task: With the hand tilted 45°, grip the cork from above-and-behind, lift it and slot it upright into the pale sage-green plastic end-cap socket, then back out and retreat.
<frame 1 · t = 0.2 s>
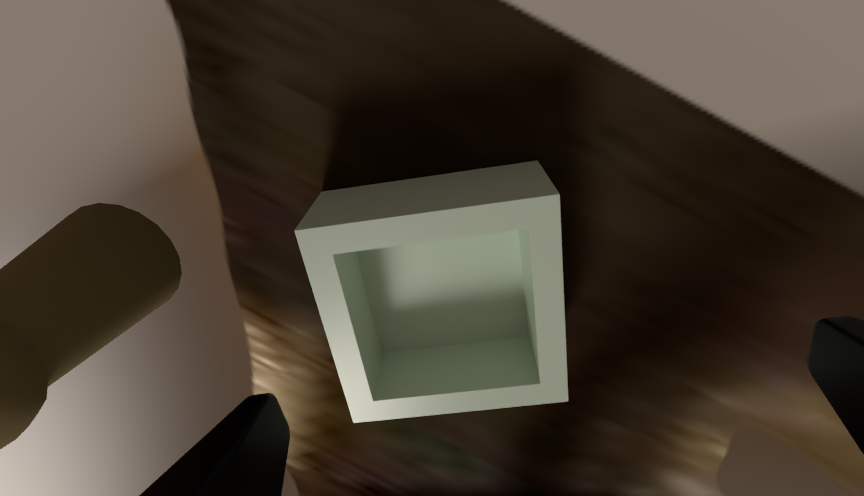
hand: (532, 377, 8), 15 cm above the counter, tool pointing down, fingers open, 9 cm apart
end cap socket: (443, 271, 24), on the counter
cork: (123, 257, 24), on the counter
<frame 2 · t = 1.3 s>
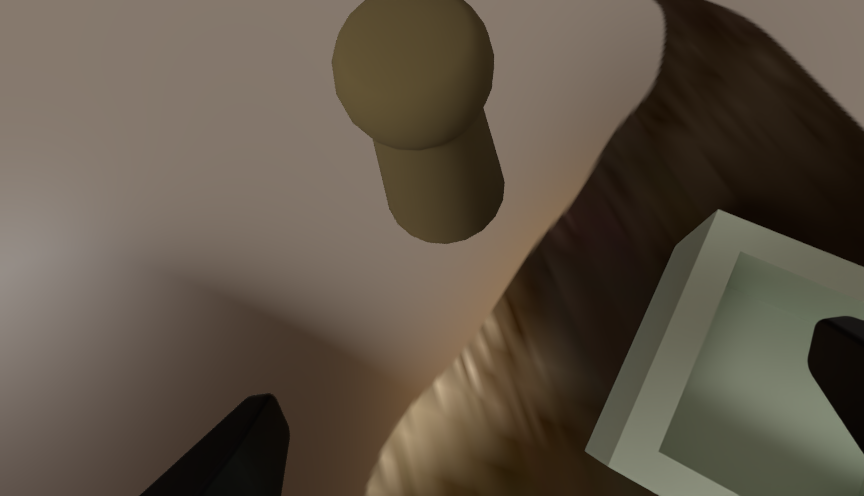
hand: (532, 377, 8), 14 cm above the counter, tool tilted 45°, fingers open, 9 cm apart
end cap socket: (751, 401, 19), on the counter
cork: (445, 189, 24), on the counter
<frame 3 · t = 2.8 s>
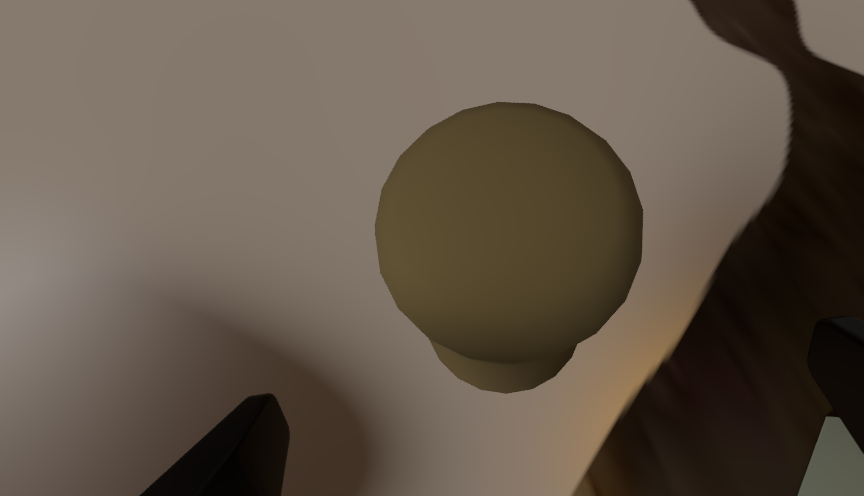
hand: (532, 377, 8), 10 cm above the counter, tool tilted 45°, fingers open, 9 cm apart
cork: (502, 312, 19), on the counter
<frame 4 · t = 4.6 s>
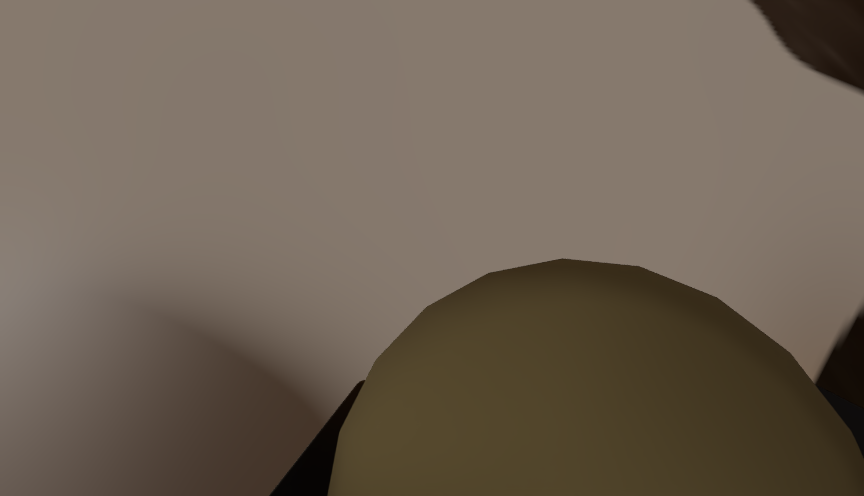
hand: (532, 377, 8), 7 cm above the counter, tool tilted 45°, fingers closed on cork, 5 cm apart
cork: (526, 433, 14), on the counter, touching gripper
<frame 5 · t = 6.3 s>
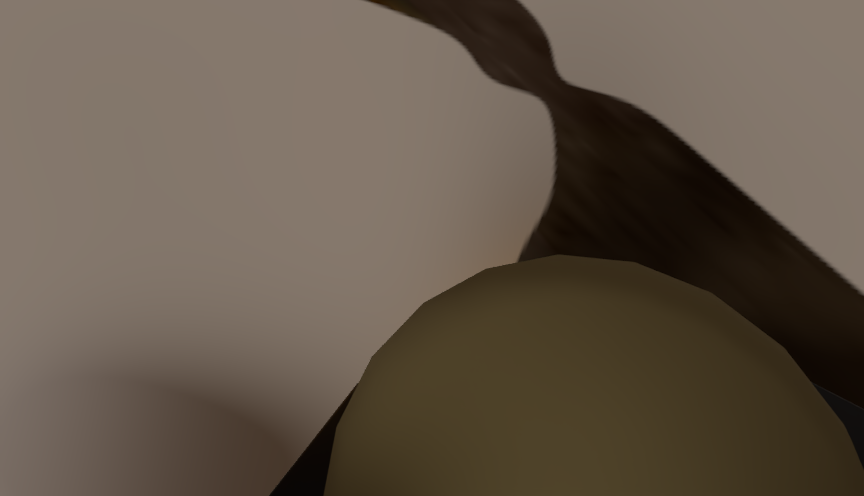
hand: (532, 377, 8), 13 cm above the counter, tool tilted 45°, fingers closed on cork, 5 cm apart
cork: (523, 431, 14), point 7 cm above the counter, touching gripper
when the fingers open (9 cm above the counter, at t = 8.2 s): cork drops 1 cm, resting on end cap socket.
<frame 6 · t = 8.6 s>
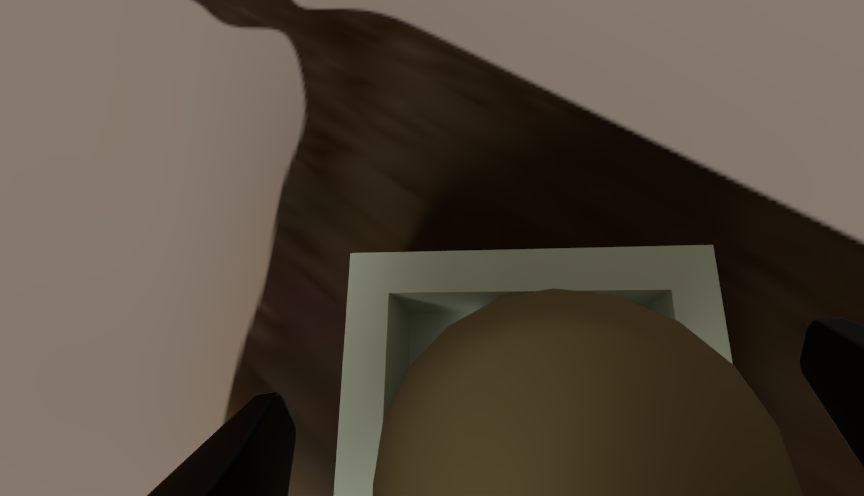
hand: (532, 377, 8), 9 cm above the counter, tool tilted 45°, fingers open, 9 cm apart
end cap socket: (522, 428, 16), on the counter
cork: (522, 429, 15), point 1 cm above the counter, touching end cap socket
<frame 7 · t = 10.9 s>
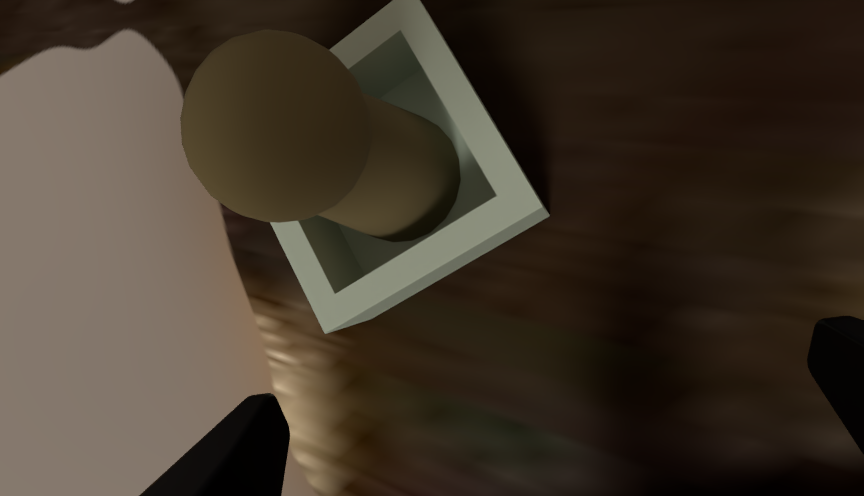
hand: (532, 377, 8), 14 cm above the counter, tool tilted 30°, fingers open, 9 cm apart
end cap socket: (406, 180, 23), on the counter
cork: (399, 178, 22), point 1 cm above the counter, touching end cap socket
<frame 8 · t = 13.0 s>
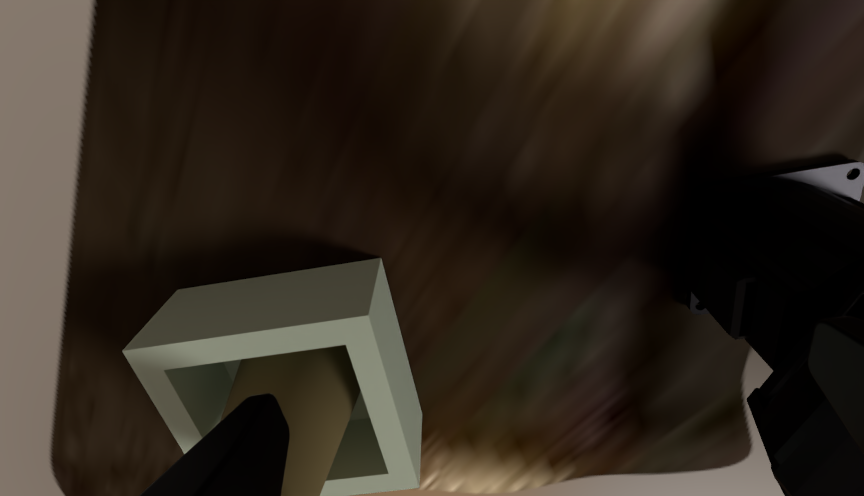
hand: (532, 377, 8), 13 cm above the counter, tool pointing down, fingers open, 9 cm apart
end cap socket: (308, 356, 25), on the counter
cork: (304, 367, 24), point 1 cm above the counter, touching end cap socket
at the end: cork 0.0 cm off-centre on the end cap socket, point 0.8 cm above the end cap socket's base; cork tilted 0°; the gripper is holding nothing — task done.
